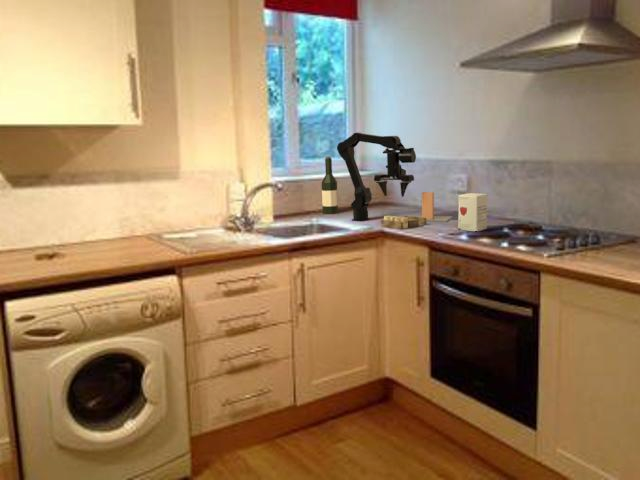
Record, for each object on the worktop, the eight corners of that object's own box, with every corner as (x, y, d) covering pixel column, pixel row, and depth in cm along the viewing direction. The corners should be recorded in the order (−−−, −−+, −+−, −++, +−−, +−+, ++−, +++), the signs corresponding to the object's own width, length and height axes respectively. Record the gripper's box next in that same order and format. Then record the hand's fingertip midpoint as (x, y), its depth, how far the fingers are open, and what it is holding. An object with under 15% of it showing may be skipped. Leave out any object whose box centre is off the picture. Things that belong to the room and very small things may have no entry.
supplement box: (457, 230, 258) (457, 194, 255) (468, 227, 264) (468, 192, 261) (476, 231, 251) (476, 195, 249) (487, 228, 258) (487, 193, 255)
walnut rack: (381, 229, 268) (381, 220, 268) (406, 224, 278) (406, 215, 277) (401, 231, 259) (401, 222, 258) (426, 226, 269) (426, 217, 268)
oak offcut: (394, 227, 264) (394, 217, 263) (399, 226, 266) (399, 216, 265) (403, 228, 260) (403, 218, 259) (408, 228, 262) (407, 217, 261)
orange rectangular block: (421, 218, 284) (421, 192, 281) (423, 217, 286) (423, 192, 284) (432, 218, 282) (432, 193, 279) (434, 217, 284) (433, 192, 282)
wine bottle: (321, 212, 330) (319, 157, 325) (337, 211, 331) (335, 156, 325) (323, 214, 322) (321, 157, 316) (339, 213, 323) (337, 156, 317)
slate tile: (403, 223, 282) (403, 220, 282) (410, 218, 294) (410, 215, 294) (446, 224, 274) (446, 220, 274) (452, 219, 287) (452, 216, 286)
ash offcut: (384, 226, 269) (384, 216, 268) (389, 225, 271) (388, 215, 270) (392, 227, 265) (392, 217, 264) (397, 226, 267) (397, 216, 266)
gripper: (419, 161, 284) (419, 195, 287) (385, 161, 295) (385, 193, 298) (407, 163, 275) (408, 197, 278) (372, 163, 286) (373, 196, 289)
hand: (394, 196), depth 286 cm, fingers open, 9 cm apart
